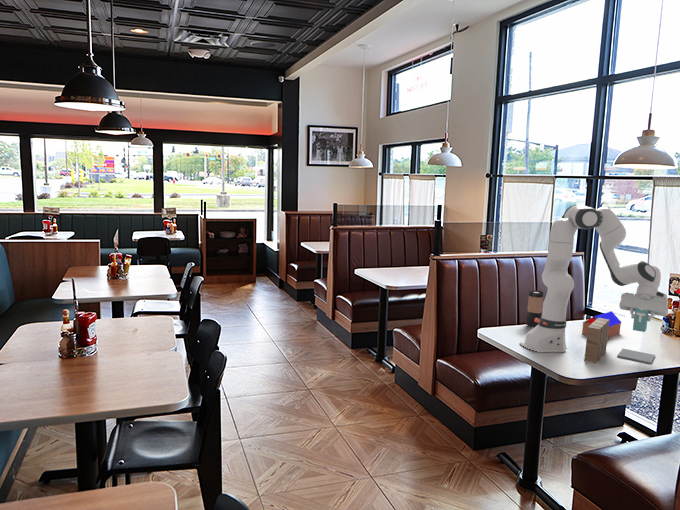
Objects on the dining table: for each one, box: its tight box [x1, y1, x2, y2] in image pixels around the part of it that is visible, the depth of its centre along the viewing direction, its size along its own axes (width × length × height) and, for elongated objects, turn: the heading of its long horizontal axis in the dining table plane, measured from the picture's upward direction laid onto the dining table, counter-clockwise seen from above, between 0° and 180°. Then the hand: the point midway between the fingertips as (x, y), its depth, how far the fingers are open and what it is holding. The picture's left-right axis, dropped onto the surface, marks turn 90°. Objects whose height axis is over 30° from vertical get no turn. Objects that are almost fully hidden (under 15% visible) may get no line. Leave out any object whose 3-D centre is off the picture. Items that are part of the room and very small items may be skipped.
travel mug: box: [526, 289, 544, 329], centre depth 294 cm, size 8×8×20 cm
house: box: [581, 310, 622, 339], centre depth 284 cm, size 12×20×12 cm, turn 128°
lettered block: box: [632, 308, 649, 333], centre depth 246 cm, size 5×5×10 cm
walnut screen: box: [584, 318, 609, 364], centre depth 247 cm, size 22×5×16 cm, turn 142°
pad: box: [616, 348, 656, 365], centre depth 248 cm, size 14×14×1 cm
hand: (640, 319), depth 245 cm, fingers closed on lettered block, 5 cm apart
